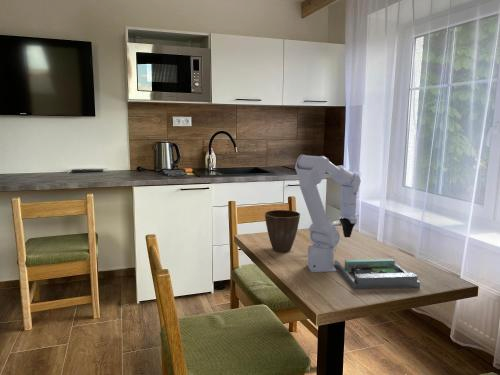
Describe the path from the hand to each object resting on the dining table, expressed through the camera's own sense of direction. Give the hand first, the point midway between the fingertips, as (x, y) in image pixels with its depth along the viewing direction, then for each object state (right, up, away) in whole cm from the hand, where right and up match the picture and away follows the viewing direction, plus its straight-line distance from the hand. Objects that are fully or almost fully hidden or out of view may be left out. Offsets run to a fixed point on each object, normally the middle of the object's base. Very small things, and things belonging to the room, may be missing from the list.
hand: (347, 236), depth 157 cm
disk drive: (+6, -13, -18) cm, 23 cm away
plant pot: (-25, -7, +13) cm, 29 cm away
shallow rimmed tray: (+6, -12, -16) cm, 21 cm away
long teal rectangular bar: (+5, -11, -12) cm, 17 cm away
